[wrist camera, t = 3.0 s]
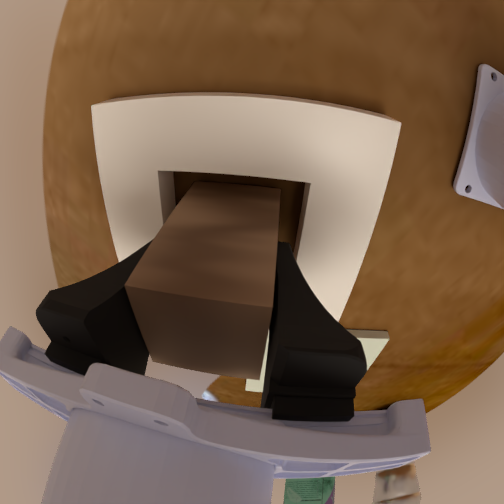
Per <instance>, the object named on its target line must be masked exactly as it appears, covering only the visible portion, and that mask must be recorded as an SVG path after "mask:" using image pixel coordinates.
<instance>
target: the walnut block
mask: <svg viewBox="0 0 504 504" xmlns="http://www.w3.org/2000/svg"><path fill="white" fill-rule="evenodd" d="M280 192H281V189H279V188H270V187H260V186H250V185H240V184H228V183H216V182H202V181H195V182H194V183H193V184H192V186H191V187H190V188H189V190H188V191H187V192H186V194H185V195H184V196H183V198H182V199H181V201H180V202H179V203H178V205H177V206H176V207H175V209H174V210H173V212H172V213H171V215H170V216H169V217H168V219H167V220H166V222H165V223H164V225H163V226H162V227H161V229H160V230H159V232H158V233H157V235H156V236H155V238H154V239H153V241H152V242H151V244H150V245H149V247H148V248H147V250H146V251H145V253H144V255H143V256H142V258H141V259H140V261H139V262H138V264H137V265H136V267H135V269H134V270H133V272H132V273H131V275H130V277H129V278H128V280H127V282H126V283H125V285H124V286H125V289H126V292H127V295H128V298H129V301H130V304H131V307H132V309H133V312H134V315H135V318H136V321H137V323H138V326H139V329H140V331H141V334H142V336H143V339H144V341H145V344H146V346H147V349H148V351H149V354H150V356H151V358H152V360H153V362H157V363H161V364H166V365H170V366H175V367H180V368H184V369H190V370H195V371H200V372H206V373H212V374H217V375H224V376H230V377H237V378H245V379H253V380H260V375H261V370H262V365H263V359H264V354H265V348H266V343H267V337H268V331H269V326H270V320H271V314H272V308H273V297H274V284H275V271H276V257H277V242H278V227H279V210H280Z"/></svg>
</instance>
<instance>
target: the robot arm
mask: <svg viewBox="0 0 504 504" xmlns="http://www.w3.org/2000/svg"><path fill="white" fill-rule="evenodd" d="M491 73H492V74H493V80H492V78H491ZM467 185H468V188H467V190H465V188H466V186H467ZM453 188H454V190H455V191H456V192H457V193H458V194H459V195H462V196H466V197H469V198H472V199H475V200H478V201H481V202H484V203H487V204H490V205H493V206H496V207H499V208H501V209H504V75H503V74H501V73H500V72H498V71H497V70H495V69H494V68H492V67H491V66H489V65H487V64H480V66H479V68H478V76H477V84H476V91H475V98H474V103H473V109H472V114H471V119H470V124H469V129H468V133H467V137H466V141H465V145H464V149H463V153H462V157H461V160H460V164H459V167H458V170H457V174H456V177H455V180H454V184H453ZM152 241H153V240H151V241H150V242H148V243H147V244H146V245H144V246H143V247H141V248H140V249H139V250H137V251H136V252H134V253H133V254H131V255H130V256H128V257H127V258H125V259H124V260H122V261H121V262H119V263H117V264H116V265H114V266H112V267H110V268H108V269H107V270H105V271H103V272H100V273H98V274H96V275H94V276H92V277H90V278H88V279H85V280H83V281H80V282H77V283H75V284H72V285H69V286H65V287H62V288H58V289H55V290H51V291H49V293H48V294H47V295H46V297H45V298H44V299H43V301H42V302H41V304H40V305H39V307H38V308H37V310H36V316H37V319H38V321H39V323H40V325H41V326H42V328H43V329H44V331H45V332H46V334H47V335H48V337H49V338H50V340H51V343H50V345H49V346H48V348H47V350H44V349H42V348H40V347H38V346H36V345H34V344H32V343H31V341H30V339H29V338H28V337H27V336H26V335H25V334H24V333H23V332H21V331H19V330H17V329H15V328H13V327H12V326H10V327H9V328H8V330H7V331H6V333H5V334H4V336H3V338H2V339H1V341H0V375H1V376H2V377H3V378H4V379H5V380H6V381H7V382H8V383H9V384H10V385H11V386H12V387H13V388H14V389H16V390H17V391H19V392H20V393H22V394H23V395H25V396H26V397H28V398H29V399H31V400H32V401H34V402H35V403H37V404H39V405H40V406H42V407H43V408H45V409H47V410H48V411H50V412H51V413H53V414H55V415H57V416H58V417H60V418H62V419H63V420H65V421H67V422H68V423H67V426H66V428H65V431H64V433H63V436H62V439H61V441H60V444H59V447H58V450H57V453H56V456H55V459H54V462H53V465H52V468H51V471H50V474H49V477H48V481H47V484H46V488H45V491H44V495H43V499H42V502H41V504H271V496H272V487H273V478H281V479H293V478H319V477H333V476H343V475H351V474H359V473H366V472H373V471H379V470H386V469H391V468H397V467H400V466H403V465H405V464H407V463H410V462H412V461H414V460H416V459H418V458H421V457H422V456H425V455H427V454H429V453H430V452H431V447H430V440H429V432H428V426H427V419H426V413H425V408H424V402H423V399H413V400H403V401H398V402H395V403H393V404H392V405H391V406H390V407H389V408H388V409H387V410H375V411H354V403H353V398H355V396H356V392H355V387H356V385H357V384H358V383H359V382H360V380H361V379H362V378H363V376H364V375H365V373H366V371H367V361H366V356H365V353H364V349H363V346H362V343H361V341H360V340H359V339H357V338H356V337H355V336H354V335H352V334H351V333H350V332H349V331H347V330H346V329H345V328H344V327H343V326H342V325H341V324H340V323H339V322H338V321H336V320H335V319H334V317H333V316H332V315H331V314H330V313H329V312H328V311H327V310H326V309H325V307H324V306H323V305H322V304H321V302H320V301H319V300H318V298H317V297H316V295H315V294H314V293H313V291H312V290H311V288H310V286H309V285H308V283H307V281H306V280H305V278H304V276H303V274H302V272H301V270H300V268H299V266H298V264H297V262H296V259H295V257H294V254H293V252H292V249H291V245H290V244H289V243H287V242H277V257H276V271H275V284H274V297H273V308H272V314H271V320H270V326H269V341H268V351H267V360H266V368H265V377H264V385H263V393H262V401H261V408H257V407H249V406H241V405H234V404H227V403H220V402H214V401H209V400H203V399H198V398H194V397H193V396H192V395H191V393H190V392H189V391H187V390H185V389H183V388H182V387H180V386H178V385H175V384H172V383H169V382H166V381H163V380H159V379H155V378H151V377H148V376H144V375H145V370H146V366H147V361H148V357H149V351H148V349H147V346H146V344H145V341H144V339H143V336H142V334H141V331H140V329H139V326H138V323H137V321H136V318H135V315H134V312H133V309H132V307H131V304H130V301H129V298H128V295H127V292H126V289H125V286H124V285H125V283H126V282H127V280H128V278H129V277H130V275H131V273H132V272H133V270H134V269H135V267H136V265H137V264H138V262H139V261H140V259H141V258H142V256H143V255H144V253H145V251H146V250H147V248H148V247H149V245H150V244H151V242H152Z"/></svg>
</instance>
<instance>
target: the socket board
mask: <svg viewBox="0 0 504 504" xmlns="http://www.w3.org/2000/svg"><path fill="white" fill-rule="evenodd" d="M91 110H92V122H93V132H94V140H95V148H96V156H97V163H98V169H99V175H100V181H101V187H102V192H103V197H104V202H105V207H106V212H107V216H108V221H109V225H110V229H111V234H112V238H113V242H114V245H115V249H116V253H117V257H118V260H119V262H121V261H122V260H124V259H125V258H127V257H128V256H130V255H131V254H133V253H134V252H136V251H137V250H139V249H140V248H141V247H143V246H144V245H146V244H147V243H148V242H150V241H151V240H153V239H154V238H155V236H156V235H157V233H158V232H159V230H160V229H161V227H162V226H163V225H164V223H165V222H166V220H167V219H168V217H169V216H170V215H171V213H172V212H173V210H174V209H175V207H176V201H175V188H174V173H173V171H185V172H203V173H219V174H232V175H244V176H254V177H264V178H274V179H283V180H291V181H299V182H305V189H304V195H303V201H302V207H301V213H300V219H299V225H298V230H297V236H296V242H295V247H294V253H293V254H294V257H295V259H296V262H297V264H298V266H299V268H300V270H301V272H302V274H303V276H304V278H305V280H306V281H307V283H308V285H309V286H310V288H311V290H312V291H313V293H314V294H315V295H316V297H317V298H318V300H319V301H320V302H321V304H322V305H323V306H324V307H325V309H326V310H327V311H328V312H329V313H330V314H331V315H332V316H333V317H334V319H335V320H336V321H339V319H340V317H341V314H342V312H343V310H344V307H345V305H346V303H347V300H348V298H349V295H350V293H351V290H352V288H353V285H354V283H355V280H356V277H357V275H358V272H359V269H360V267H361V264H362V261H363V259H364V256H365V253H366V250H367V247H368V244H369V241H370V238H371V235H372V232H373V229H374V226H375V223H376V220H377V217H378V213H379V210H380V207H381V204H382V200H383V197H384V193H385V190H386V186H387V182H388V179H389V175H390V171H391V167H392V163H393V159H394V155H395V150H396V146H397V141H398V137H399V132H400V127H401V123H400V122H399V121H397V120H395V119H393V118H391V117H389V116H387V115H383V114H379V113H375V112H371V111H367V110H363V109H358V108H354V107H349V106H344V105H339V104H333V103H328V102H322V101H316V100H309V99H302V98H294V97H286V96H276V95H265V94H251V93H229V92H187V93H165V94H151V95H141V96H131V97H123V98H115V99H110V100H107V101H104V102H100V103H97V104H94V105H91ZM268 332H269V331H268Z"/></svg>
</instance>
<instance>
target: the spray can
mask: <svg viewBox="0 0 504 504" xmlns="http://www.w3.org/2000/svg"><path fill="white" fill-rule="evenodd" d="M334 492H335V476H333V477H319V478H293V479H286V483H285V494H284V504H334Z"/></svg>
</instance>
